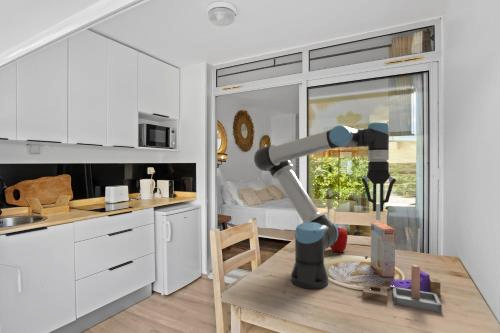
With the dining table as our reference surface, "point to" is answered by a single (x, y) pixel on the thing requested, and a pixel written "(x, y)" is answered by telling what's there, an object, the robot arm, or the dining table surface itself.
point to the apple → (340, 241)
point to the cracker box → (383, 249)
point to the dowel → (415, 282)
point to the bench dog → (435, 286)
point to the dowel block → (375, 292)
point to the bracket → (407, 283)
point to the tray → (426, 300)
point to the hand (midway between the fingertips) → (378, 219)
